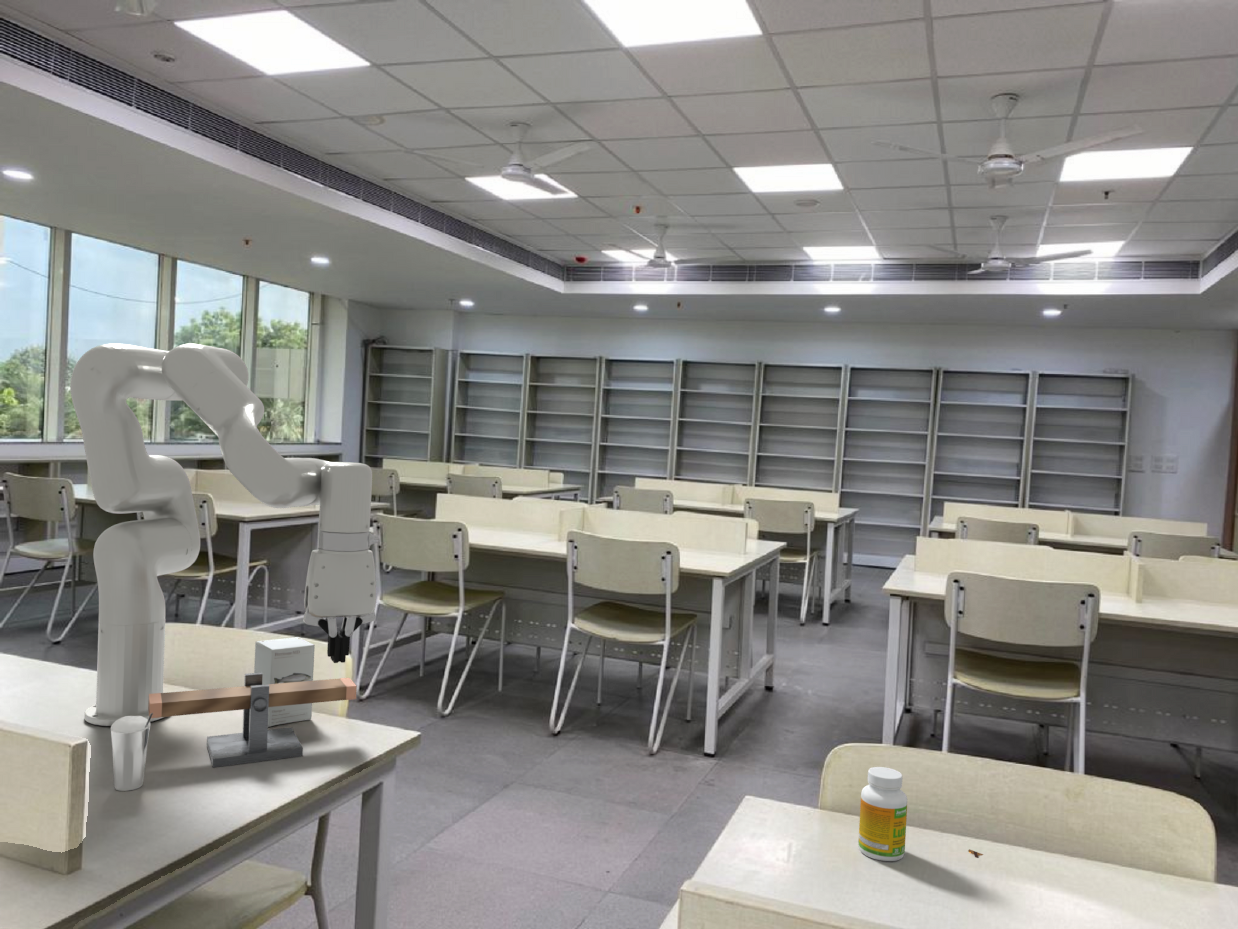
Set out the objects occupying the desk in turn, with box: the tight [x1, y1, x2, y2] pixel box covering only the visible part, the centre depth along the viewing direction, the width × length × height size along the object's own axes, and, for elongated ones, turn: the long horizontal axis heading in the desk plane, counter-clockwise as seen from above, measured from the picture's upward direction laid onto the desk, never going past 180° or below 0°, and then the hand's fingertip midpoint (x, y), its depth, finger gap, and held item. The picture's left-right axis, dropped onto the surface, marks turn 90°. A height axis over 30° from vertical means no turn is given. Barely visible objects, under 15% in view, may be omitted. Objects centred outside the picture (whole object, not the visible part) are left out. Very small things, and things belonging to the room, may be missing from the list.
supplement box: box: [253, 636, 316, 728], centre depth 146 cm, size 7×7×13 cm
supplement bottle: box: [857, 766, 908, 862], centre depth 107 cm, size 5×5×10 cm
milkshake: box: [110, 713, 153, 792], centre depth 116 cm, size 5×5×10 cm
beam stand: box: [206, 672, 304, 768], centre depth 131 cm, size 12×10×10 cm
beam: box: [148, 677, 358, 718], centre depth 131 cm, size 28×5×2 cm, turn 119°
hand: (337, 660), depth 137 cm, fingers closed
